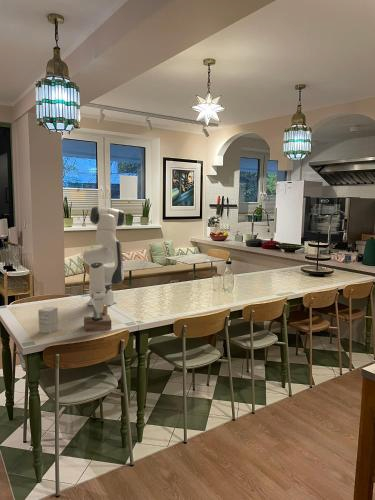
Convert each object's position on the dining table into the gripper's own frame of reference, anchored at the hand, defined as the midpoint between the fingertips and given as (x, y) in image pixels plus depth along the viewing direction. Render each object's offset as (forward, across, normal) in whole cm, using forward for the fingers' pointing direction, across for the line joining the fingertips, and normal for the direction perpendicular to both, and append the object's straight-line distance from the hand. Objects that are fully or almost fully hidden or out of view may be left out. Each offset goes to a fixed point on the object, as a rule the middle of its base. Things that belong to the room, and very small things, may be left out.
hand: (97, 316), depth 214 cm
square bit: (+5, 0, 0) cm, 5 cm away
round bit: (+7, -10, +5) cm, 13 cm away
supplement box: (+7, -2, -26) cm, 27 cm away
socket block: (+7, 0, 0) cm, 7 cm away
